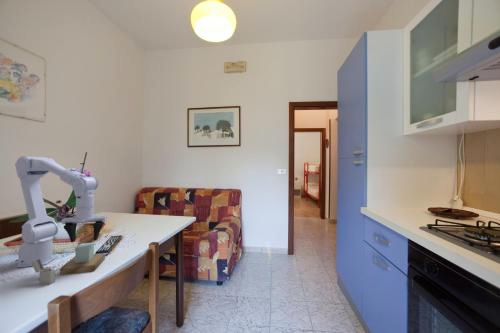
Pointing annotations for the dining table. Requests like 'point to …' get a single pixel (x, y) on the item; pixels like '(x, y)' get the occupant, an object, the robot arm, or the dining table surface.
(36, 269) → the lighter
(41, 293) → the dining table surface
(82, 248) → the teal block
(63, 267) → the walnut base
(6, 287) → the dining table surface
